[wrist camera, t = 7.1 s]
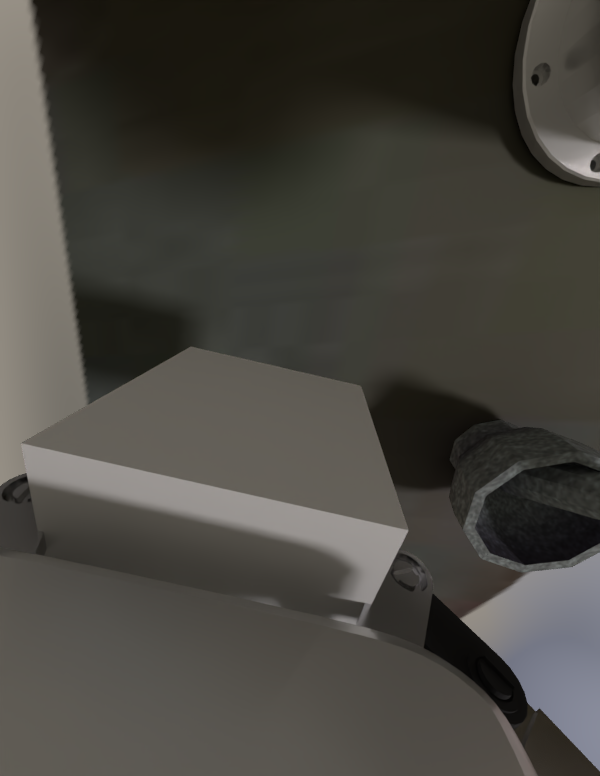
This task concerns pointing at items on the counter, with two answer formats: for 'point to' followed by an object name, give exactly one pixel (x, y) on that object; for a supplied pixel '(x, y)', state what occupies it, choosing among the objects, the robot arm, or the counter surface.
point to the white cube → (224, 485)
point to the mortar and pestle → (526, 496)
